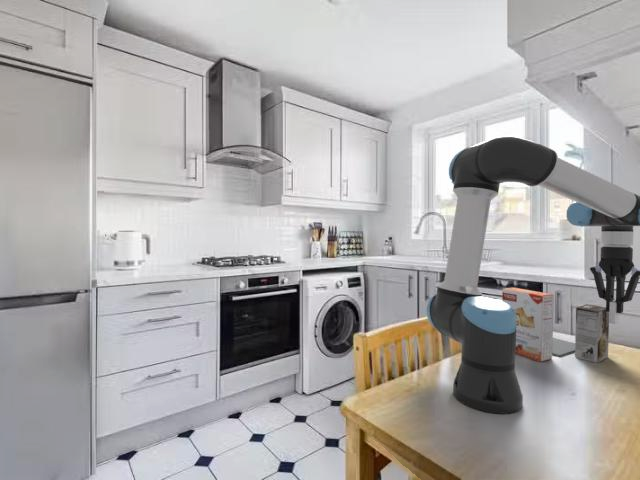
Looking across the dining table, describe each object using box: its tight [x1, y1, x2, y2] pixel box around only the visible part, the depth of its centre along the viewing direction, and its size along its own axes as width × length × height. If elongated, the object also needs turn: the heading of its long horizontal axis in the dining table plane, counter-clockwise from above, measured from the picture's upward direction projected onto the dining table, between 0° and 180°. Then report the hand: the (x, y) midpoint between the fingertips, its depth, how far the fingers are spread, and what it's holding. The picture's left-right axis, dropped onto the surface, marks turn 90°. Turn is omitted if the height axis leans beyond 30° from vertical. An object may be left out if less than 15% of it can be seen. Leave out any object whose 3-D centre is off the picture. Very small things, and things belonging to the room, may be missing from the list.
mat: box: [552, 337, 575, 358], centre depth 124 cm, size 18×14×1 cm
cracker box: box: [501, 287, 554, 363], centre depth 116 cm, size 14×6×21 cm, turn 25°
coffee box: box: [574, 303, 610, 364], centre depth 113 cm, size 9×6×16 cm
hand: (614, 322), depth 108 cm, fingers closed
